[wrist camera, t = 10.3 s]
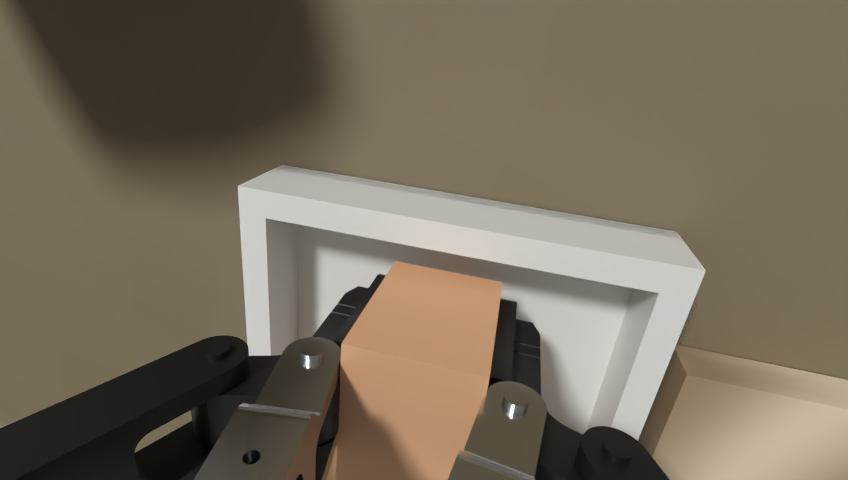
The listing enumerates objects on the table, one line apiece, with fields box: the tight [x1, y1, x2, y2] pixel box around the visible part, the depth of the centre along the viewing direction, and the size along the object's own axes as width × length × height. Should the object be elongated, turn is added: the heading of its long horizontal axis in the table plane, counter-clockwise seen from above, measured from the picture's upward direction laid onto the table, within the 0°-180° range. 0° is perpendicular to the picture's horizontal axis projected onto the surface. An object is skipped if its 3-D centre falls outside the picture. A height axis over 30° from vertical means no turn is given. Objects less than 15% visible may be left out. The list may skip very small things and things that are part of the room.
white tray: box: [238, 165, 706, 441], centre depth 16 cm, size 12×16×2 cm
